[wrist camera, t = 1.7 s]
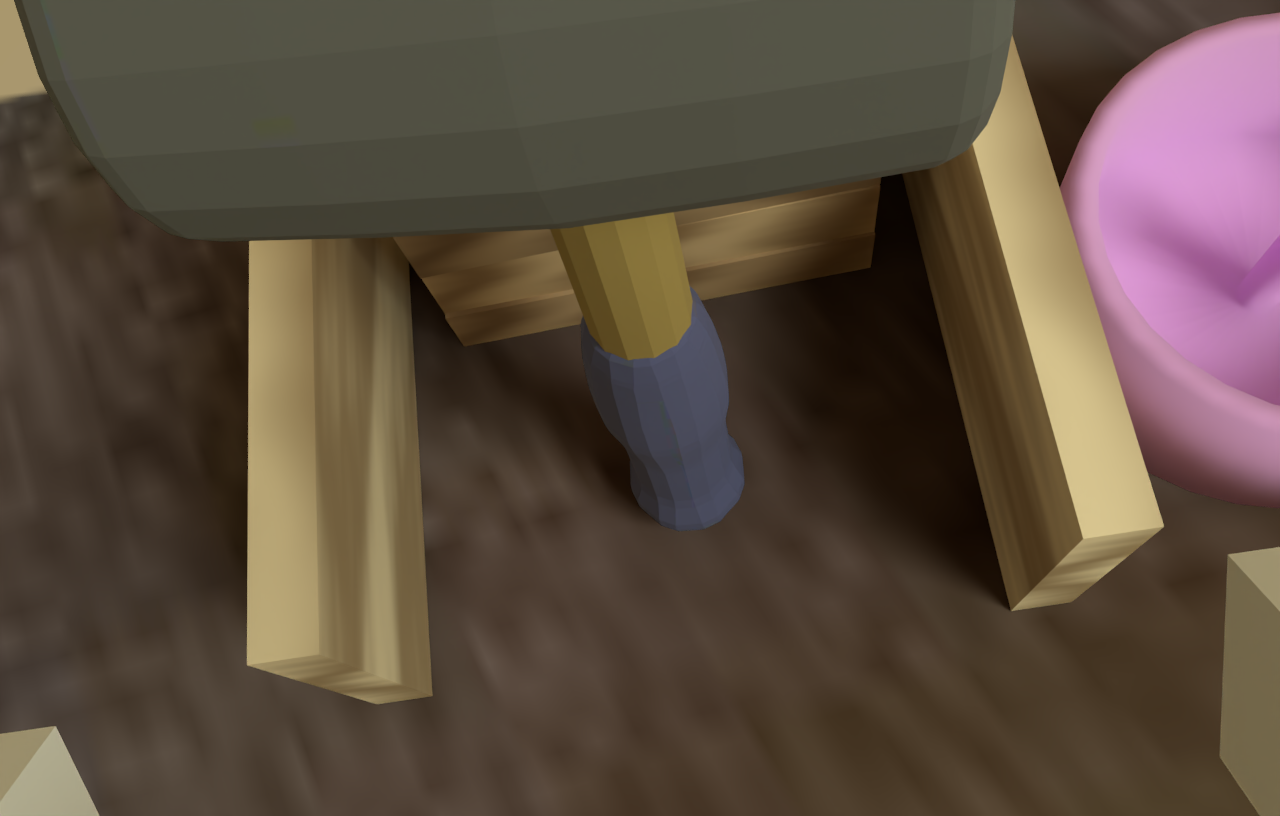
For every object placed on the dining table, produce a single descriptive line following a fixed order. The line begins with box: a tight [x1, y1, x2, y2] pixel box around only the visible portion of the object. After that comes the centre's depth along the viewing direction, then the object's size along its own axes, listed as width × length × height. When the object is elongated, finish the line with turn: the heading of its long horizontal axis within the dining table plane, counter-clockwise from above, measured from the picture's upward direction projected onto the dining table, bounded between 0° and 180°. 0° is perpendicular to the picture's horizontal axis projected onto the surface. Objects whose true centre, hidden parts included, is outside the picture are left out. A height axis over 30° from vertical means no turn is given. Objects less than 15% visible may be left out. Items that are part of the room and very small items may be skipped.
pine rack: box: [247, 36, 1164, 704], centre depth 37 cm, size 24×22×10 cm
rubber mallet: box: [14, 0, 1015, 531], centre depth 26 cm, size 12×8×30 cm, turn 92°
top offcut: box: [393, 177, 881, 279], centre depth 37 cm, size 16×5×3 cm, turn 99°
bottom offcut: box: [445, 232, 875, 347], centre depth 43 cm, size 16×5×3 cm, turn 99°
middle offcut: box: [421, 184, 880, 313], centre depth 40 cm, size 16×5×3 cm, turn 98°
